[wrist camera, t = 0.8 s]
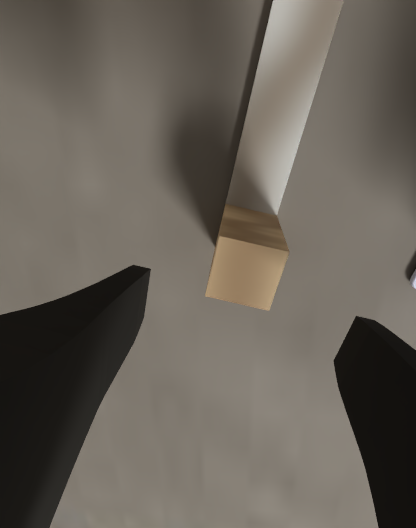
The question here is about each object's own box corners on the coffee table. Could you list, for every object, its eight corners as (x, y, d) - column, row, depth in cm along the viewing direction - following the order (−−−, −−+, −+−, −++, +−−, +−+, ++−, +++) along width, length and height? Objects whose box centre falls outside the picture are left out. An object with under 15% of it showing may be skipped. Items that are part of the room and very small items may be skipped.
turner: (340, 2, 14) (402, -70, 9) (261, 257, 20) (268, 310, 14) (276, -13, 14) (297, -94, 9) (215, 247, 20) (204, 295, 14)
